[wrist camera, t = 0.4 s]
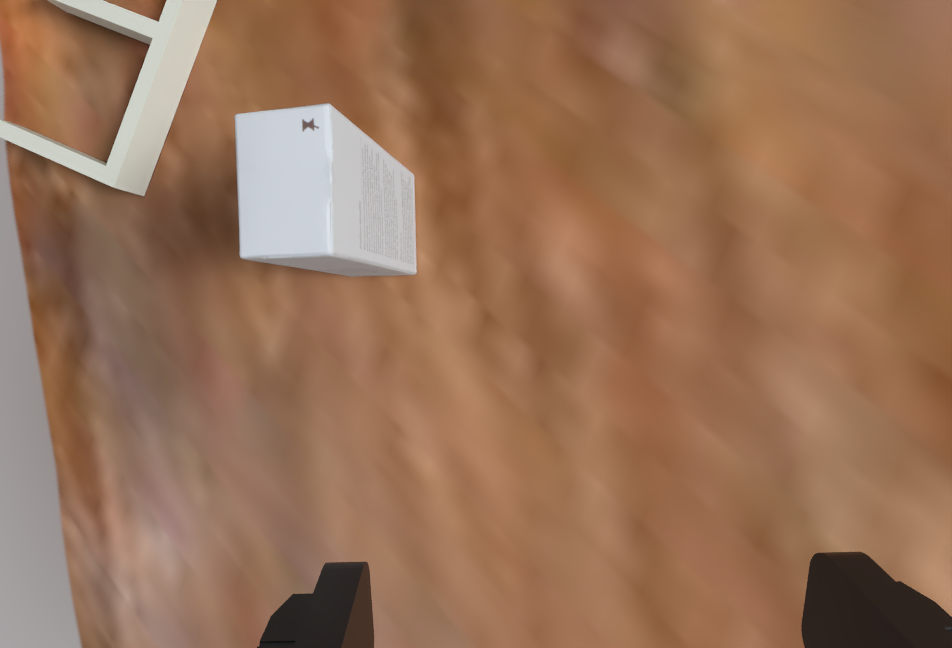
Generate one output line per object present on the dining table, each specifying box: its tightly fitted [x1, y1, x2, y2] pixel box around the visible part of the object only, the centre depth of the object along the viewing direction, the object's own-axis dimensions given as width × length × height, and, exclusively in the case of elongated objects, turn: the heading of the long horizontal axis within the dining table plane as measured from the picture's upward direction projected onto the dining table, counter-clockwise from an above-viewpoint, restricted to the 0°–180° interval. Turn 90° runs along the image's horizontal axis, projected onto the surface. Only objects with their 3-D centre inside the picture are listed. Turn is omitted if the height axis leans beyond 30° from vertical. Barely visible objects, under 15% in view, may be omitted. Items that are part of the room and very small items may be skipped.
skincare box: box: [235, 103, 417, 277], centre depth 29 cm, size 6×4×12 cm
